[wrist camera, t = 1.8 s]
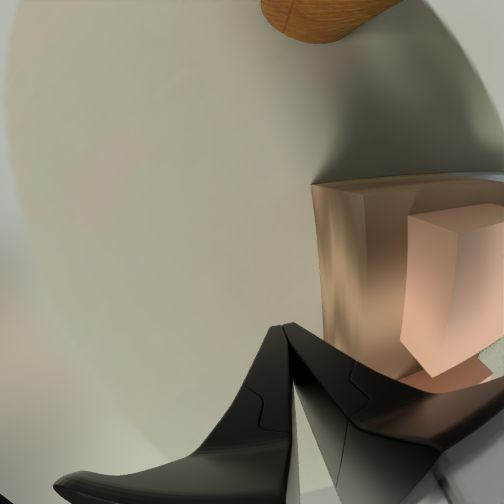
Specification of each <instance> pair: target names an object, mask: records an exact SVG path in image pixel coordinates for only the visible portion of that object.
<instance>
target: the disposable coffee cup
mask: <svg viewBox="0 0 504 504" xmlns="http://www.w3.org/2000/svg"><path fill="white" fill-rule="evenodd" d="M401 1H403V0H261V9H262V12H263V14H264V16H265V17H266V19H267V20H268V22H269V23H270V24H271V25H272V26H273V27H275V28H276V29H277V30H279V31H280V32H282V33H284V34H286V35H288V36H289V37H292V38H294V39H297V40H300V41H304V42H309V43H329V42H334V41H337V40H339V39H341V38H342V37H344V36H345V35H346V34H348V33H349V32H351V31H352V30H354V29H355V28H357V27H358V26H360V25H362V24H363V23H365V22H366V21H368V20H370V19H371V18H373V17H375V16H376V15H378V14H379V13H381V12H383V11H385V10H386V9H388V8H390V7H392V6H394V5H396V4H397V3H399V2H401Z"/></svg>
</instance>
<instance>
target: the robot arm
mask: <svg viewBox="0 0 504 504" xmlns="http://www.w3.org/2000/svg"><path fill="white" fill-rule="evenodd" d="M293 383H294V386H295V389H296V392H297V394H298V397H299V399H300V402H301V404H302V407H303V409H304V412H305V414H306V417H307V419H308V422H309V424H310V427H311V429H312V432H313V434H314V437H315V439H316V442H317V444H318V447H319V449H320V452H321V454H322V457H323V459H324V462H325V464H326V466H327V469H328V471H329V474H330V476H331V479H332V481H333V484H334V486H335V488H336V491H337V493H338V496H339V498H340V501H341V503H342V504H504V376H502V377H500V378H497V379H494V380H491V381H488V382H484V383H481V384H478V385H474V386H470V387H467V388H463V389H459V390H455V391H450V392H446V393H431V392H426V391H423V390H420V389H418V388H415V387H413V386H410V385H408V384H405V383H403V382H400V381H398V380H395V379H393V378H390V377H388V376H386V375H384V374H381V373H379V372H377V371H375V370H373V369H371V368H370V367H368V366H366V365H364V364H362V363H361V362H359V361H356V360H355V359H354V358H352V357H350V356H349V355H347V354H345V353H344V352H342V351H340V350H339V349H337V348H335V347H334V346H332V345H330V344H329V343H327V342H325V341H324V340H322V339H320V338H319V337H317V336H316V335H314V334H312V333H311V332H309V331H307V330H306V329H304V328H303V327H301V326H299V325H298V324H296V323H294V322H292V323H287V324H283V326H282V325H277V326H271V327H270V328H269V330H268V332H267V334H266V336H265V338H264V340H263V343H262V345H261V347H260V349H259V351H258V353H257V355H256V357H255V359H254V361H253V363H252V366H251V368H250V370H249V372H248V374H247V376H246V378H245V380H244V382H243V384H242V386H241V387H240V389H239V391H238V393H237V395H236V397H235V399H234V401H233V402H232V404H231V406H230V407H229V409H228V410H227V411H226V413H225V414H224V416H223V417H222V418H221V420H220V421H219V422H218V424H217V425H216V426H215V428H214V429H213V430H212V432H211V433H210V434H209V435H208V437H207V438H206V439H205V440H204V442H203V443H202V444H201V445H200V447H199V448H198V449H197V450H195V451H194V452H193V453H192V454H190V455H189V456H187V457H185V458H182V459H179V460H177V461H174V462H171V463H168V464H165V465H161V466H158V467H155V468H152V469H148V470H145V471H141V472H138V473H133V474H128V475H120V476H110V475H103V474H98V473H93V472H89V471H78V472H74V473H71V474H67V475H65V476H63V477H61V478H59V479H58V480H57V481H56V482H55V483H54V484H53V488H54V490H55V491H56V492H57V493H58V494H59V495H60V496H61V497H63V498H64V499H65V500H67V501H69V502H70V503H71V504H300V486H299V463H298V444H297V427H296V412H295V398H294V386H293ZM0 504H13V503H12V502H10V501H9V500H8V499H6V498H5V497H4V496H2V495H1V494H0Z"/></svg>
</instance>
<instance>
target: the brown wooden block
mask: <svg viewBox="0 0 504 504" xmlns="http://www.w3.org/2000/svg"><path fill="white" fill-rule="evenodd" d="M311 190H312V198H313V206H314V214H315V223H316V232H317V242H318V253H319V264H320V277H321V291H322V308H323V330H324V341H325V342H327V343H329V344H330V345H332V346H334V347H335V348H337V349H339V350H340V351H342V352H344V353H345V354H347V355H349V356H350V357H352V358H354V359H355V360H356V361H359V362H361V363H362V364H364V365H366V366H368V367H370V368H371V369H373V370H375V371H377V372H379V373H381V374H384V375H386V376H388V377H390V378H393V379H395V380H400V379H403V378H405V377H407V376H410V375H412V374H414V373H417V372H419V371H421V370H424V368H423V367H422V366H421V364H420V363H419V362H418V361H417V360H416V358H415V357H414V356H413V355H412V354H411V353H410V352H409V350H408V349H407V348H406V347H405V346H404V345H403V343H402V342H401V341H400V336H401V329H402V322H403V314H404V304H405V293H406V279H407V258H408V215H414V214H421V213H427V212H434V211H440V210H447V209H453V208H460V207H466V206H473V205H480V204H487V203H491V204H495V205H499V206H503V207H504V182H499V181H493V180H487V179H480V178H473V177H466V176H457V175H449V174H439V173H427V174H411V175H397V176H385V177H373V178H363V179H353V180H344V181H336V182H327V183H319V184H311ZM479 353H480V352H478V353H477V354H475V356H476V357H477V358H478V355H479Z"/></svg>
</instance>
